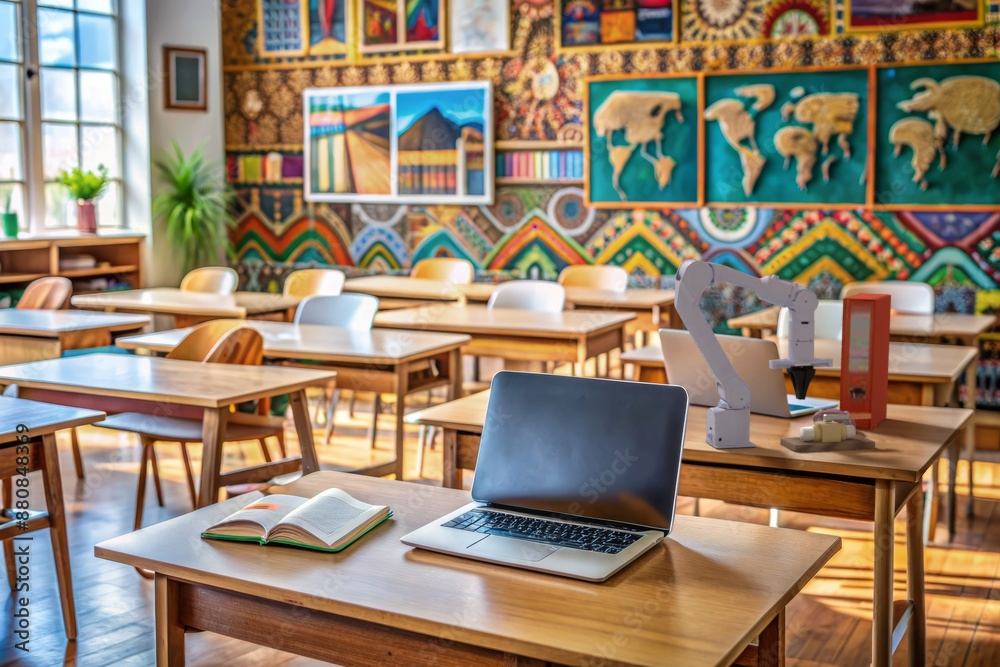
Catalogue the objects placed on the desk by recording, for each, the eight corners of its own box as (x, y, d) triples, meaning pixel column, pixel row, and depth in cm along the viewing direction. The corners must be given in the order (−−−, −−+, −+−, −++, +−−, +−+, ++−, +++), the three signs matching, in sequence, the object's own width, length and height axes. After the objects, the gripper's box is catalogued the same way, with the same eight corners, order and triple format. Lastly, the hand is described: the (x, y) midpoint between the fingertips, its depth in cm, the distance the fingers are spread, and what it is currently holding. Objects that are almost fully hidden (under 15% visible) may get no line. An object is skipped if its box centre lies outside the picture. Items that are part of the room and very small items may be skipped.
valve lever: (825, 422, 244) (825, 415, 244) (821, 420, 246) (821, 413, 246) (871, 420, 246) (871, 413, 246) (866, 418, 248) (867, 411, 248)
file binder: (887, 418, 278) (891, 294, 274) (872, 430, 263) (876, 299, 260) (855, 415, 282) (858, 293, 278) (838, 427, 267) (841, 298, 264)
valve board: (794, 452, 241) (794, 445, 240) (780, 444, 248) (780, 438, 248) (875, 448, 243) (875, 441, 243) (858, 440, 251) (858, 434, 251)
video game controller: (812, 436, 264) (810, 413, 261) (815, 425, 268) (814, 402, 264) (854, 439, 260) (852, 416, 256) (857, 428, 263) (856, 405, 260)
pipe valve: (806, 445, 243) (806, 425, 242) (798, 441, 247) (798, 422, 247) (856, 442, 244) (857, 423, 244) (847, 438, 249) (848, 420, 248)
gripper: (777, 343, 241) (777, 403, 243) (839, 341, 244) (838, 400, 245) (765, 339, 248) (765, 398, 250) (825, 337, 250) (824, 395, 252)
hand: (800, 399), depth 248 cm, fingers closed
